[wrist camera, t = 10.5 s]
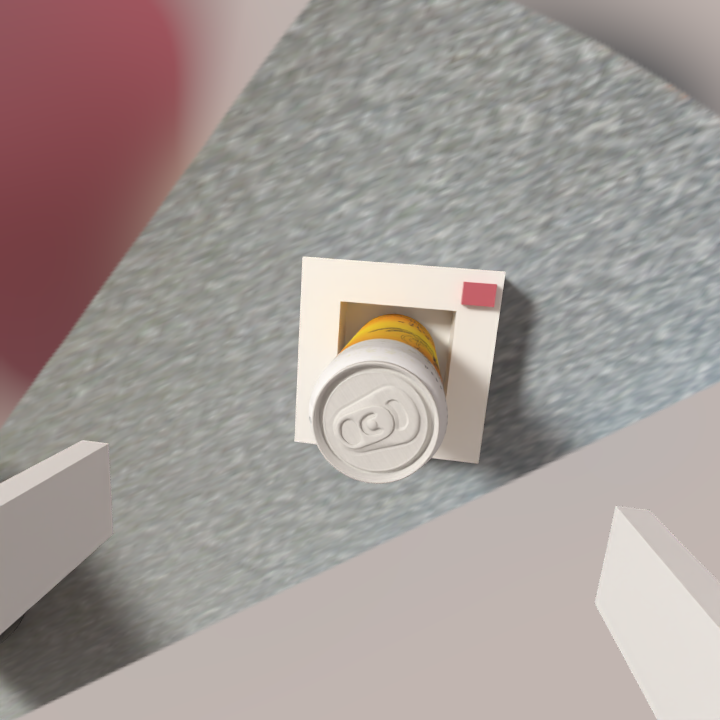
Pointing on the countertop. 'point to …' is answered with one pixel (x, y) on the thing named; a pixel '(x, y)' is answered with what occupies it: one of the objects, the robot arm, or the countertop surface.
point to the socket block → (424, 304)
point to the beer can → (381, 402)
